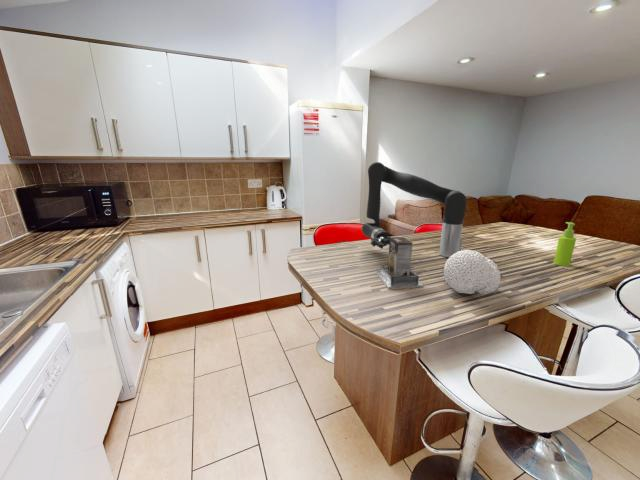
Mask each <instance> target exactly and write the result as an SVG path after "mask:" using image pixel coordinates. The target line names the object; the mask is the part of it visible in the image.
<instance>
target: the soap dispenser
mask: <svg viewBox="0 0 640 480" xmlns="http://www.w3.org/2000/svg"><path fill="white" fill-rule="evenodd" d="M565 224H567V228H566V229H564V230H563V235H560V236H558V241H557V245H556V250H555V254H554V257H553V264H554V265H555V266H560V267H570V264H571V261H572V257H573V253H574V248H575V246H576V245H575V244H576V240H577V238H575V237H574V233H575V229H573V228H574V226H576V223H574V222H573V221H569V222H568V221H566V222H565Z"/></svg>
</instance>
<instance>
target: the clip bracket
mask: <svg viewBox="0 0 640 480" xmlns="http://www.w3.org/2000/svg"><path fill="white" fill-rule="evenodd" d="M375 274H376V275H377V276H378V278H379V279H380V281H382V283H383V284H384V286H385V287H386V288H387V290H395V289H396V290H398V289H414V288H415V289H418V288H419V289H421V288H424V284H423V283H422V282H421V281H420V279H419V278H420V277H419V275H418V274H417V273H416V272H415V271H413V270H412V268H410V275H409V276H396V277H393V276H392V275H391V274H390V273H389V271H388V268H386V267H385V266H384V265H381V267H380V269H375Z"/></svg>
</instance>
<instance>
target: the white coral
mask: <svg viewBox="0 0 640 480" xmlns="http://www.w3.org/2000/svg"><path fill="white" fill-rule="evenodd" d="M498 267H499V266H498V265H497V263H495V261H493V260H492V259H490V258H488V257H486V256H485V255H483V254H482V253H480V252H479V251H476V250H473V249H471V250H470V249H466V250H462V249H461V251H459V252H457V253H454V254H453V255H452V256H450V257H448V259H446V261H445V264H444V265H443V277H444V280H445V282H446V283H447V285H448V286H449V287H450V288H452V289H453V291H456V292H457V293H459V294H467V295H472V294H475V293H479V294H480V295H482V296H486V295H487V294H490V293H493V292H495V291H496V290H497V289H498V288H499V283H500V282H501V274H502V272H501V271H500V270H499V268H498Z"/></svg>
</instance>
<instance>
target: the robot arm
mask: <svg viewBox="0 0 640 480" xmlns="http://www.w3.org/2000/svg"><path fill="white" fill-rule="evenodd" d="M367 176H368V194H367V195H368V196H367V198H368V199H367V204H366V208H367V209H366V218H367V219H368V220H369V219H370V220H373V221H374V222H365V223H364V224H363V225H362V226H361V233H362V234H363V235H364V236H365V237H366V238H367V237H368V238H370V245H371V247H377V248H379V249H382V250H383V249H384V247H387V246H389V243H390V237H392V236H391V235H390V233H389V232H388V231H386V230H384V229H383V228H382V224H381V219H380V216H381V215H380V214H381V213H380V212H381V191H382V190H381V189H382V184H383V183H386V184H390V185H392V186H394V187H395V188H397V189H399V190H401V191H404V192H406V193H408V194H411V195H413V196H416V197H420V198H423V199H424V198H425V199H430V200H433V201H436V202H438V203H440V204H443V205H445V206H444V214H443V217H442V227H441V235H440V242H439V244H440V245H439V251H438V252H439V255H440V256H442V257H446V258H450V256H452V255H453V254H454V253H457V252H459V251H462V245H463V238H462V231H463V226H464V225H463V223H464V219H465V215H466V210H467V208H466V207H467V197H466V195H465V194H464V193H463V192H462V191H459V190H454V189H450V188H448V187H447V188H446V187H443V186H440V185H437V183H434V182H431V181H430V180H428V179H426V178H423V177H419V176H417V175H414V174H410V173H406V172H402V171H401V172H400V171H396V170H394V169H392V168H390V167H388V166H386V165H384V164H383V163H382V162H378V161H375V162H373V163H371V164H370V165H369V166H368V169H367ZM382 182H383V183H382Z"/></svg>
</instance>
